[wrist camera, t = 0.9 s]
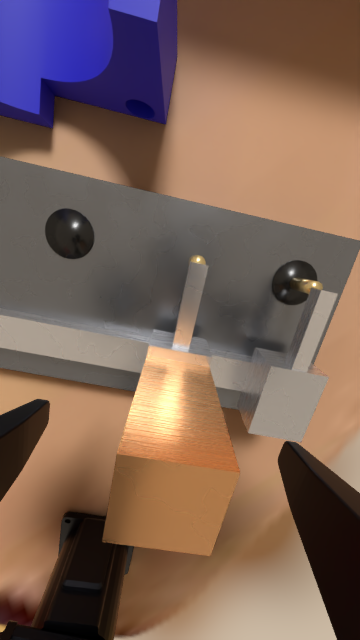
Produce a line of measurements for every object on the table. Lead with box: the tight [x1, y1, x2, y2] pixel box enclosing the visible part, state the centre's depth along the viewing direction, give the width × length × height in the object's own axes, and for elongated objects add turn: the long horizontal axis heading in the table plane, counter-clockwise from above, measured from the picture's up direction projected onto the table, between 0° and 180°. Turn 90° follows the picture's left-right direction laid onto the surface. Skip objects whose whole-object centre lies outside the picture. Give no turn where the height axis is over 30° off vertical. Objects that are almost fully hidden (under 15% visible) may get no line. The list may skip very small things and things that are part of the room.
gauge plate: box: [0, 157, 360, 442], centre depth 13 cm, size 12×22×5 cm, turn 78°
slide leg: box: [102, 255, 240, 556], centre depth 10 cm, size 8×3×9 cm, turn 168°
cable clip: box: [0, 0, 177, 128], centre depth 9 cm, size 12×4×6 cm, turn 78°
